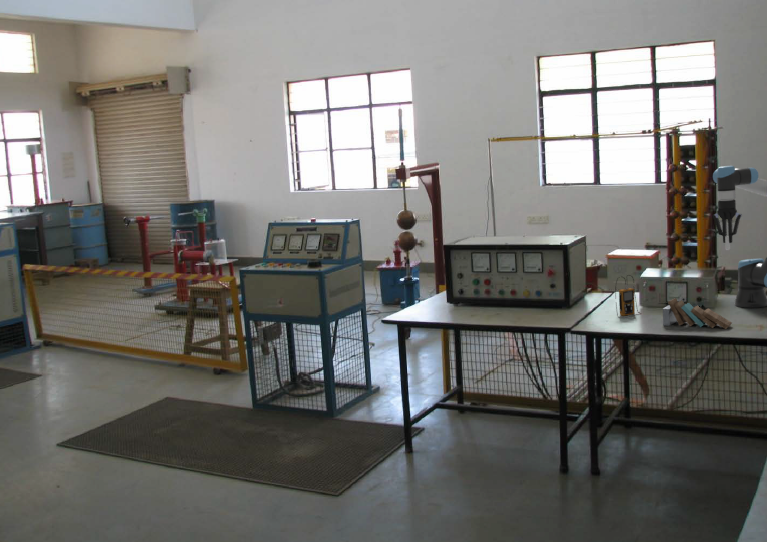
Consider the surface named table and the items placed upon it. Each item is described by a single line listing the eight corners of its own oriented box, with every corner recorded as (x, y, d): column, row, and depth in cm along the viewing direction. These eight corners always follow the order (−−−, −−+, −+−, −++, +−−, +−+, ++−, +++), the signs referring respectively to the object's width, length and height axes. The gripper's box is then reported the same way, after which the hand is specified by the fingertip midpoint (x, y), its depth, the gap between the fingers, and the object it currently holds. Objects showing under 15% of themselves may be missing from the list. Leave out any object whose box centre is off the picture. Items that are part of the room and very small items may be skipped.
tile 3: (707, 321, 362) (688, 302, 366) (703, 324, 357) (684, 305, 362) (704, 324, 363) (685, 305, 367) (700, 327, 359) (681, 307, 363)
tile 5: (687, 321, 368) (676, 297, 369) (683, 323, 363) (671, 300, 365) (683, 322, 369) (672, 299, 371) (679, 325, 365) (667, 301, 366)
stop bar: (677, 321, 373) (676, 304, 372) (669, 325, 366) (669, 309, 364) (670, 320, 375) (670, 304, 374) (663, 325, 367) (662, 308, 366)
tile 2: (719, 322, 359) (697, 305, 364) (715, 325, 354) (693, 308, 359) (716, 325, 360) (694, 308, 365) (712, 328, 355) (690, 311, 360)
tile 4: (697, 321, 365) (681, 300, 368) (693, 324, 360) (677, 302, 363) (694, 323, 366) (678, 302, 369) (690, 326, 362) (673, 305, 365)
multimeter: (626, 320, 383) (625, 279, 380) (613, 316, 393) (612, 277, 390) (651, 315, 389) (649, 275, 386) (637, 312, 398) (636, 273, 395)
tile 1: (732, 322, 355) (708, 308, 361) (728, 325, 351) (703, 311, 356) (729, 326, 356) (705, 311, 362) (725, 329, 352) (701, 314, 357)
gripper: (743, 198, 365) (744, 248, 369) (714, 199, 373) (715, 248, 377) (739, 200, 359) (740, 251, 363) (709, 201, 367) (711, 251, 371)
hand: (727, 249), depth 370 cm, fingers closed
